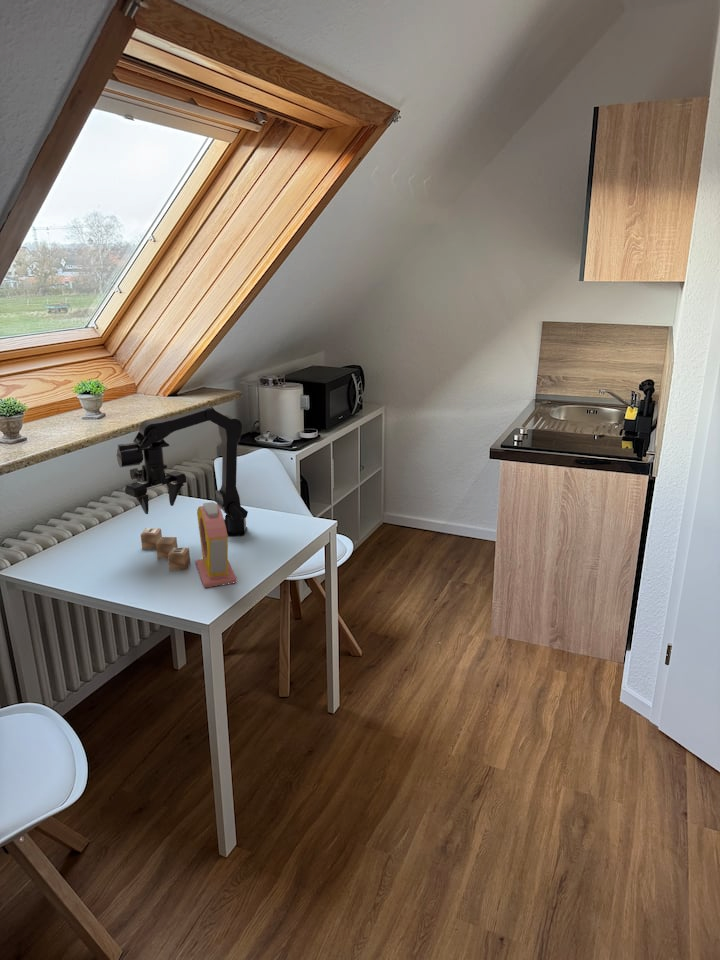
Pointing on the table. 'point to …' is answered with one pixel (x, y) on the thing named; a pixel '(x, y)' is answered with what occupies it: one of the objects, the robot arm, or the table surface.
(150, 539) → the numbered block
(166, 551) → the plain block
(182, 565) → the numbered block
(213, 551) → the pink yellow upright block
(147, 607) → the table surface
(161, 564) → the table surface
